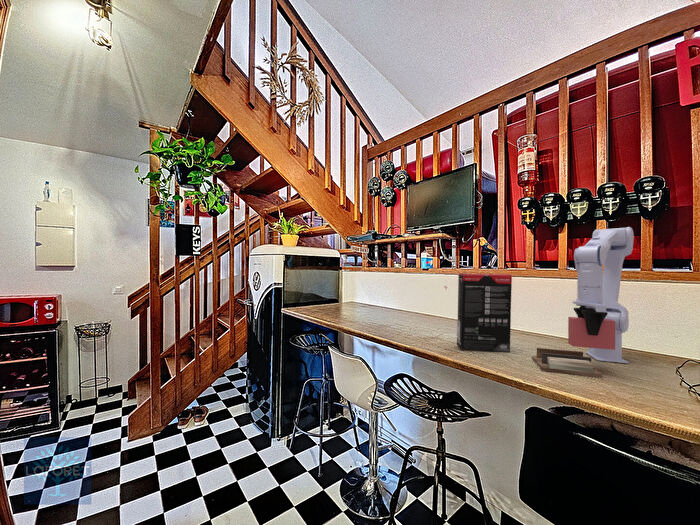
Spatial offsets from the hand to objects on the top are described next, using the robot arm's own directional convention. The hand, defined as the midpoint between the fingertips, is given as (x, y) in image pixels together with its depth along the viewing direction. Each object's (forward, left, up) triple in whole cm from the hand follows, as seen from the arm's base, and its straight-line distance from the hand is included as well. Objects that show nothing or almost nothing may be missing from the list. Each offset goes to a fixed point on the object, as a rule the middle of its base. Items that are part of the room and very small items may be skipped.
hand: (589, 333), depth 86 cm
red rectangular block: (0, 0, -4) cm, 4 cm away
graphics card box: (-11, -27, -11) cm, 32 cm away
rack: (+1, -6, -11) cm, 12 cm away
